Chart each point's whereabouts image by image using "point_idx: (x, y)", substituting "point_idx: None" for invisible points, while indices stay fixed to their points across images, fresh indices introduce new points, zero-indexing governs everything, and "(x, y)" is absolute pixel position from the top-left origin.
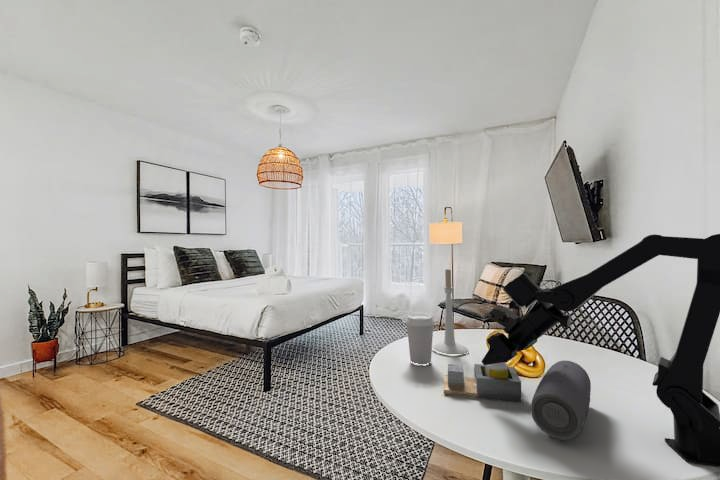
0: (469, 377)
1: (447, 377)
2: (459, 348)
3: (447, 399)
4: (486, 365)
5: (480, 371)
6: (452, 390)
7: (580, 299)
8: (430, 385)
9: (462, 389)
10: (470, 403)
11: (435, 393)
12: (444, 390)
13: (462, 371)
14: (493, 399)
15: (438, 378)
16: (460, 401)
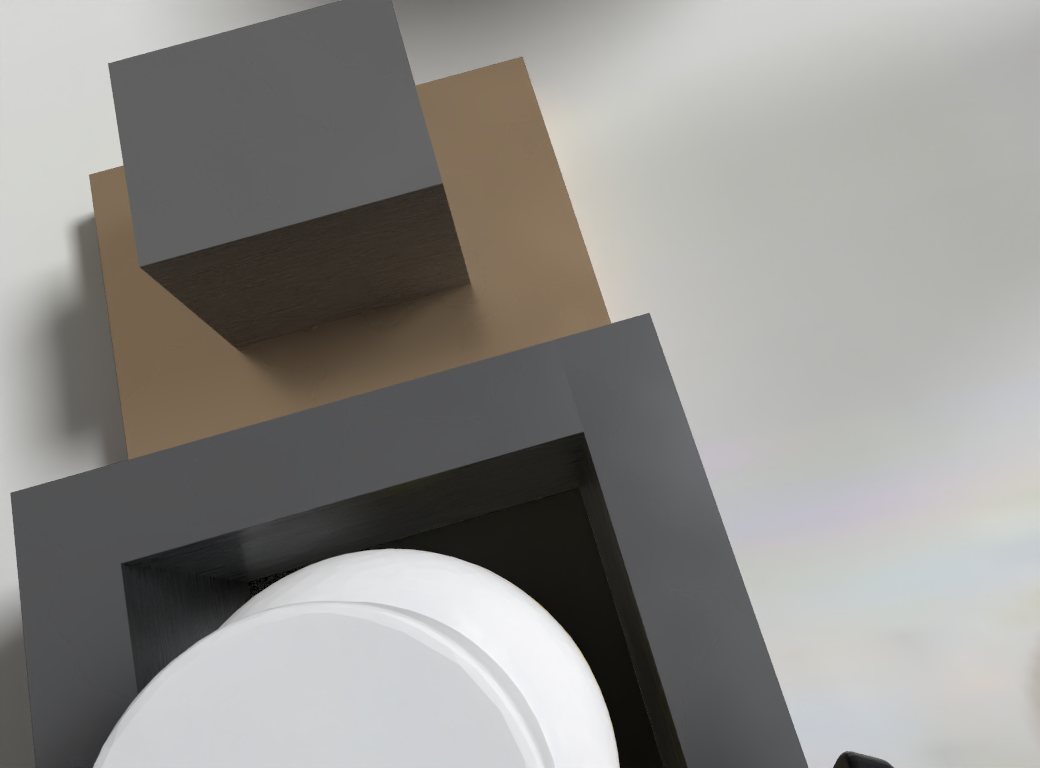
0: (597, 324)
1: (452, 105)
2: None
3: (23, 264)
4: (271, 587)
5: (326, 485)
6: (107, 257)
7: None
8: None
9: (180, 344)
10: None
11: (114, 127)
12: (92, 185)
13: (159, 244)
14: None
15: (507, 30)
16: (25, 388)
